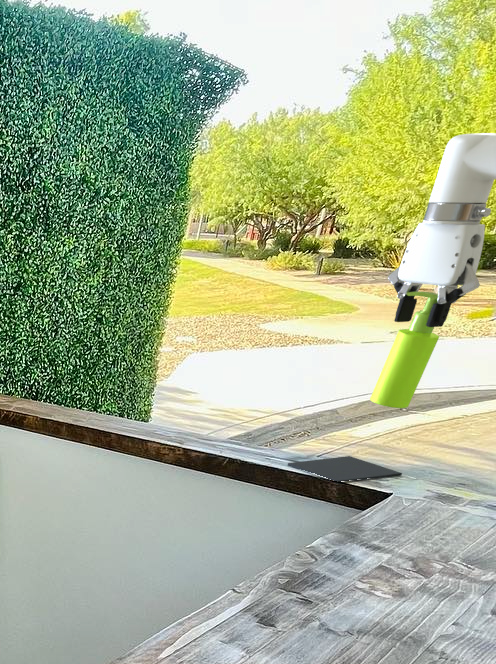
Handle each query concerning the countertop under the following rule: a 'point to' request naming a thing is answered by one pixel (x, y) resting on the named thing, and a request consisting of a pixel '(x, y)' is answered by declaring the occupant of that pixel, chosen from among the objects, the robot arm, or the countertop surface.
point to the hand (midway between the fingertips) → (418, 323)
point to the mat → (344, 468)
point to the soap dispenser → (407, 359)
